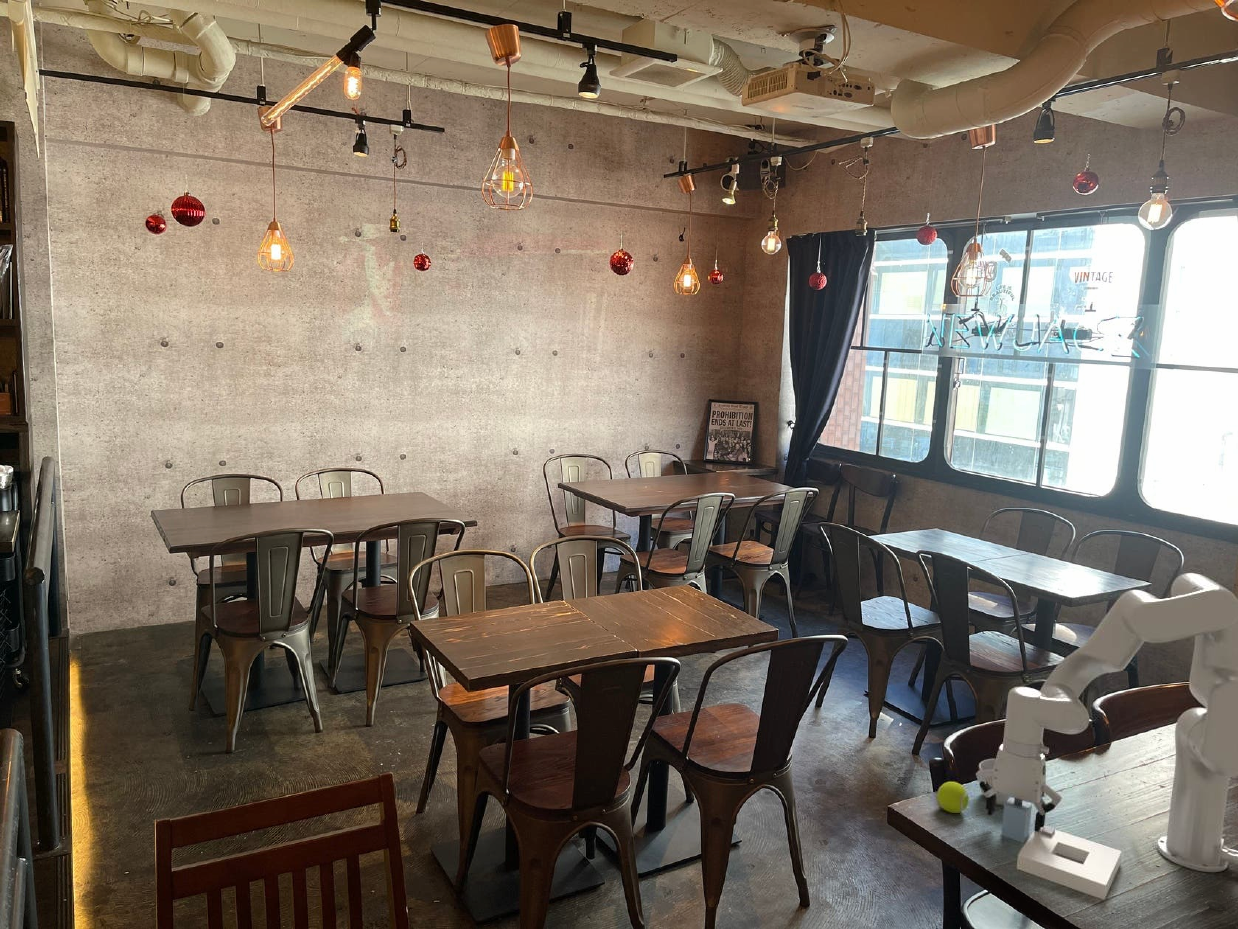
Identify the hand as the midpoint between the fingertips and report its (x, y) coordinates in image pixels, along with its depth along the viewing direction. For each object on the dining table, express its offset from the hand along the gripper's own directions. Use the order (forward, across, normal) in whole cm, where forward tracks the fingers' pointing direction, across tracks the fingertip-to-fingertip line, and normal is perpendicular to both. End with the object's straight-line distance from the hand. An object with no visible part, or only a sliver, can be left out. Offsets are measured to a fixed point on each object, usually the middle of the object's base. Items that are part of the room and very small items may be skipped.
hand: (1014, 821), depth 199 cm
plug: (+3, 0, 0) cm, 3 cm away
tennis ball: (+3, +14, -1) cm, 14 cm away
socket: (+3, -12, +6) cm, 14 cm away
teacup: (+3, +6, -16) cm, 18 cm away
